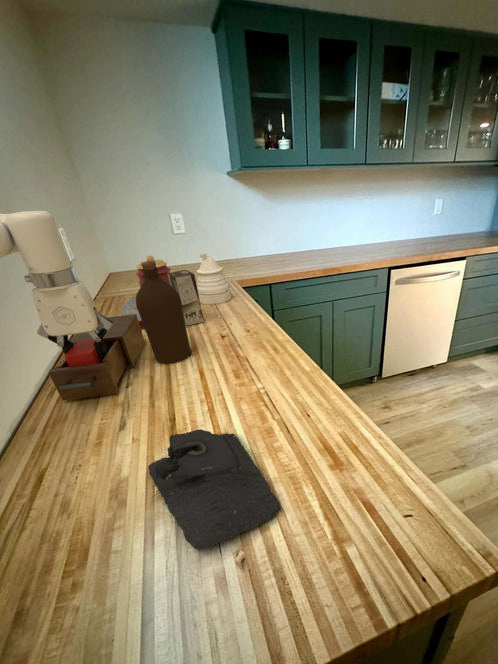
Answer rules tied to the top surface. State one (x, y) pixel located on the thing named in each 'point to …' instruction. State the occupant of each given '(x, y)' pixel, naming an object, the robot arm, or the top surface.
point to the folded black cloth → (212, 487)
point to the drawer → (91, 374)
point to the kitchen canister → (160, 266)
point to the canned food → (131, 310)
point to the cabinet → (122, 336)
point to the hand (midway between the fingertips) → (88, 357)
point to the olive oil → (162, 316)
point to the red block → (82, 354)
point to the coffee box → (187, 295)
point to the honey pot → (212, 282)
